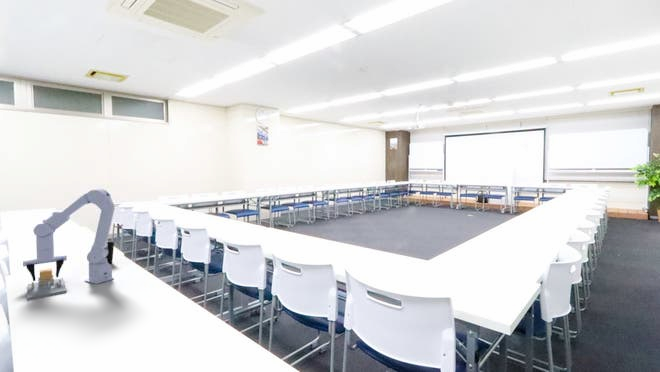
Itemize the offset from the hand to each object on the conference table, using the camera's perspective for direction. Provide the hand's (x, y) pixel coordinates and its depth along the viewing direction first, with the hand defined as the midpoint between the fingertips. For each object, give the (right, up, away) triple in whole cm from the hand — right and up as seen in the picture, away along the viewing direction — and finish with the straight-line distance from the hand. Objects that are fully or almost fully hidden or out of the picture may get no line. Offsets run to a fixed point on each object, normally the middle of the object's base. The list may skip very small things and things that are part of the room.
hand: (45, 278), depth 139 cm
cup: (+3, -2, +34) cm, 34 cm away
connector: (0, -2, 0) cm, 2 cm away
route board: (+5, -3, -4) cm, 7 cm away
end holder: (0, -2, 0) cm, 2 cm away
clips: (+5, -3, -4) cm, 7 cm away
